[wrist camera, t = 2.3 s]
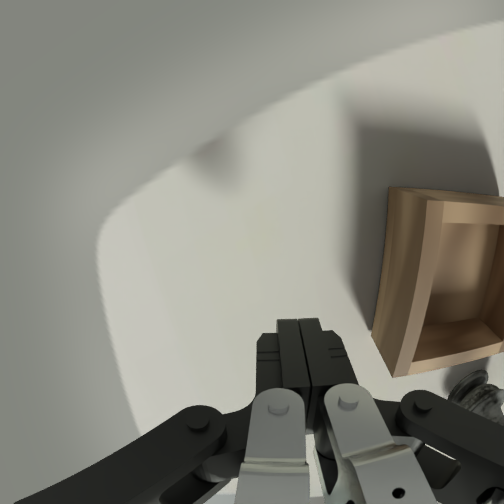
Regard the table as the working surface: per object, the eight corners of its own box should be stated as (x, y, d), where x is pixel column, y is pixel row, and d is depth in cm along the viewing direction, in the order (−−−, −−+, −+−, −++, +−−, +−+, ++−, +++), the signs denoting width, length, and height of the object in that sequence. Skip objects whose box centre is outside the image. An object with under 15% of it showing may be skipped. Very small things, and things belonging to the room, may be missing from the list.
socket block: (502, 196, 15) (544, 211, 11) (476, 320, 18) (506, 350, 14) (388, 186, 16) (427, 200, 11) (371, 335, 19) (392, 377, 15)
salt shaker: (447, 383, 21) (501, 479, 10) (493, 358, 20) (554, 438, 9) (441, 418, 23) (481, 502, 11) (484, 395, 22) (530, 469, 11)
